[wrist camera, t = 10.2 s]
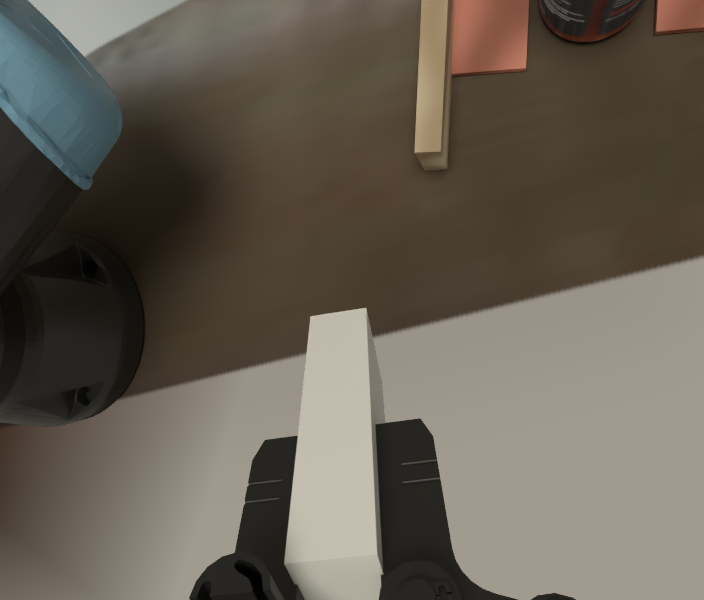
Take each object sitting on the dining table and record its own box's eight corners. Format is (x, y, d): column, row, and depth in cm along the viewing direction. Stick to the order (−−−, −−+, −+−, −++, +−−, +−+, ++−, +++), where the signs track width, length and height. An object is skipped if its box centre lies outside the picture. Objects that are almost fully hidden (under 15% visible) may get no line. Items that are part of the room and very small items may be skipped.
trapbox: (424, 170, 33) (414, 152, 29) (435, -75, 33) (427, -126, 29) (770, 161, 28) (815, 137, 24) (785, -132, 28) (831, -203, 24)
